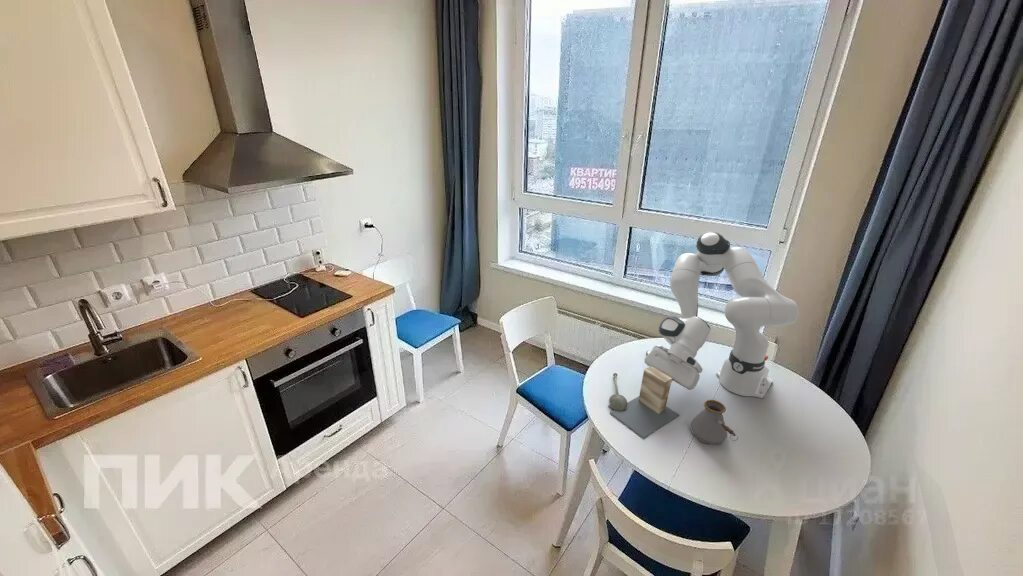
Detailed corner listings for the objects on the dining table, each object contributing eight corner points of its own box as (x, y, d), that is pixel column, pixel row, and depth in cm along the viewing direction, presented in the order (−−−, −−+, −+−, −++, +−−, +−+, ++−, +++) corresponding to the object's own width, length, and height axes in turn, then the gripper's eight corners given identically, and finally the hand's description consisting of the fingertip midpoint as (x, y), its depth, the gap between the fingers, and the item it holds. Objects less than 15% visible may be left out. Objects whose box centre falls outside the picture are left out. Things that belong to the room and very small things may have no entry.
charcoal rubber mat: (645, 393, 159) (645, 392, 159) (679, 415, 148) (679, 414, 148) (609, 413, 149) (610, 412, 149) (643, 438, 138) (643, 437, 137)
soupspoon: (608, 411, 150) (627, 414, 149) (610, 404, 149) (628, 406, 148) (607, 375, 170) (623, 377, 169) (608, 368, 168) (624, 370, 167)
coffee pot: (684, 422, 145) (693, 388, 139) (718, 425, 144) (728, 391, 138) (704, 471, 126) (715, 434, 120) (743, 475, 125) (756, 437, 119)
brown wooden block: (645, 396, 157) (651, 366, 151) (665, 409, 150) (672, 378, 145) (638, 400, 155) (644, 369, 149) (658, 413, 148) (665, 382, 142)
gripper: (654, 340, 158) (633, 369, 157) (702, 365, 143) (680, 398, 142) (659, 346, 163) (639, 374, 161) (707, 372, 147) (685, 403, 146)
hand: (659, 386), depth 152 cm, fingers closed
